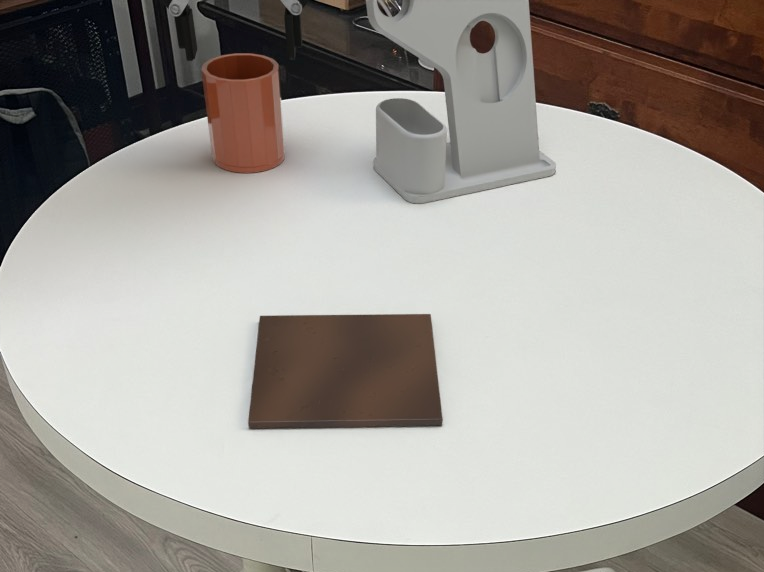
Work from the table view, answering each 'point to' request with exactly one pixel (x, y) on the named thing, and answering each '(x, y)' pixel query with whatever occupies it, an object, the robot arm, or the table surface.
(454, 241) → the table surface
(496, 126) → the phone holder
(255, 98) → the cup
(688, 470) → the table surface
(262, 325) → the coaster
